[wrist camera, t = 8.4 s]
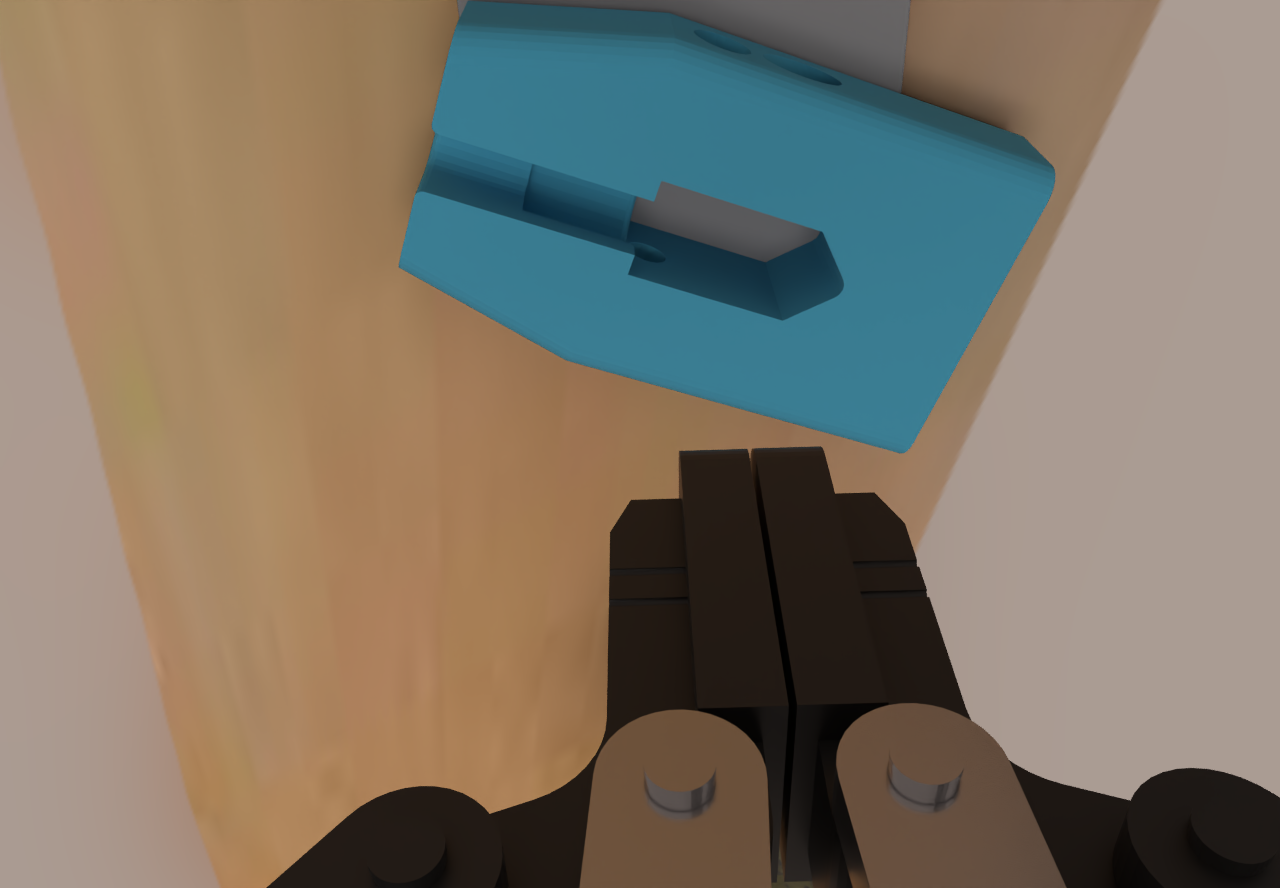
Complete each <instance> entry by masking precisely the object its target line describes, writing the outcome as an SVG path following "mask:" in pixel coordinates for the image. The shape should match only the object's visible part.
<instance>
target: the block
mask: <svg viewBox="0 0 1280 888" xmlns="http://www.w3.org/2000/svg"><path fill="white" fill-rule="evenodd" d="M432 129H433V131H434V132H435V136H434V140H433V144H432V147H431V151H430V155H429V158H428V162H427V165H426V168H425V171H424V174H423V176H422V179H421V182H420V184H419V187H418V189H417V192H416V194H415V197H414V202H413V206H412V210H411V214H410V219H409V223H408V227H407V231H406V235H405V240H404V244H403V248H402V252H401V257H400V262H399V268H401V269H403V270H405V271H406V272H408V273H410V274H412V275H414V276H415V277H417V278H419V279H421V280H423V281H424V282H426V283H428V284H430V285H432V286H433V287H435V288H437V289H439V290H441V291H442V292H444V293H446V294H448V295H450V296H451V297H453V298H455V299H457V300H459V301H460V302H462V303H464V304H466V305H468V306H469V307H471V308H473V309H475V310H477V311H478V312H480V313H482V314H484V315H486V316H487V317H489V318H491V319H493V320H495V321H496V322H498V323H500V324H502V325H504V326H505V327H507V328H509V329H511V330H513V331H514V332H516V333H518V334H520V335H522V336H523V337H525V338H527V339H529V340H531V341H532V342H534V343H536V344H538V345H540V346H541V347H543V348H545V349H547V350H549V351H550V352H552V353H554V354H556V355H558V356H559V357H561V358H563V359H565V360H567V361H570V362H574V363H578V364H581V365H585V366H588V367H592V368H596V369H599V370H603V371H606V372H610V373H613V374H617V375H621V376H624V377H628V378H631V379H635V380H639V381H642V382H646V383H649V384H653V385H657V386H660V387H664V388H667V389H671V390H675V391H678V392H682V393H685V394H689V395H693V396H696V397H700V398H703V399H707V400H711V401H714V402H718V403H721V404H725V405H728V406H732V407H736V408H739V409H743V410H746V411H750V412H754V413H757V414H761V415H764V416H768V417H772V418H775V419H779V420H782V421H786V422H790V423H793V424H797V425H800V426H804V427H808V428H811V429H815V430H818V431H822V432H826V433H829V434H833V435H836V436H840V437H844V438H847V439H851V440H854V441H858V442H861V443H865V444H869V445H872V446H876V447H879V448H883V449H887V450H890V451H894V452H897V453H905V452H906V451H907V450H908V449H909V448H910V447H911V446H912V444H913V443H914V441H915V439H916V437H917V435H918V434H919V432H920V430H921V428H922V427H923V425H924V423H925V421H926V419H927V418H928V416H929V414H930V412H931V410H932V409H933V407H934V405H935V403H936V401H937V400H938V398H939V396H940V394H941V393H942V391H943V389H944V387H945V385H946V384H947V382H948V380H949V378H950V376H951V375H952V373H953V371H954V369H955V367H956V366H957V364H958V362H959V360H960V358H961V357H962V355H963V353H964V351H965V350H966V348H967V346H968V344H969V342H970V341H971V339H972V337H973V335H974V333H975V332H976V330H977V328H978V326H979V324H980V323H981V321H982V319H983V317H984V316H985V314H986V312H987V310H988V308H989V307H990V305H991V303H992V301H993V299H994V298H995V296H996V294H997V292H998V290H999V289H1000V287H1001V285H1002V283H1003V282H1004V280H1005V278H1006V276H1007V274H1008V273H1009V271H1010V269H1011V267H1012V265H1013V264H1014V262H1015V260H1016V258H1017V256H1018V255H1019V253H1020V251H1021V249H1022V247H1023V246H1024V244H1025V242H1026V240H1027V239H1028V237H1029V235H1030V233H1031V231H1032V230H1033V228H1034V226H1035V224H1036V222H1037V221H1038V219H1039V217H1040V215H1041V213H1042V212H1043V210H1044V208H1045V206H1046V205H1047V203H1048V201H1049V199H1050V196H1051V194H1052V191H1053V188H1054V183H1055V170H1054V168H1053V166H1052V165H1051V164H1050V163H1049V162H1048V161H1047V160H1046V159H1045V158H1044V157H1043V156H1042V155H1041V154H1040V153H1039V152H1038V151H1037V150H1036V149H1035V148H1034V147H1033V146H1032V145H1031V144H1030V143H1029V142H1028V141H1027V140H1026V139H1025V138H1024V137H1023V136H1020V135H1018V134H1015V133H1012V132H1009V131H1006V130H1003V129H1000V128H997V127H995V126H992V125H989V124H986V123H983V122H980V121H977V120H975V119H972V118H969V117H966V116H963V115H960V114H957V113H955V112H952V111H949V110H946V109H943V108H940V107H937V106H935V105H932V104H929V103H926V102H923V101H920V100H917V99H914V98H912V97H909V96H906V95H903V94H900V93H897V92H894V91H892V90H889V89H886V88H883V87H880V86H877V85H874V84H872V83H869V82H866V81H863V80H860V79H857V78H854V77H852V76H849V75H846V74H843V73H840V72H837V71H834V70H832V69H829V68H826V67H823V66H820V65H817V64H814V63H811V62H809V61H806V60H803V59H800V58H797V57H794V56H791V55H789V54H786V53H783V52H780V51H777V50H774V49H771V48H769V47H766V46H763V45H760V44H757V43H754V42H751V41H749V40H746V39H743V38H740V37H737V36H734V35H731V34H728V33H726V32H723V31H720V30H717V29H714V28H711V27H708V26H706V25H703V24H700V23H697V22H694V21H691V20H688V19H686V18H683V17H680V16H677V15H674V14H671V13H665V12H648V11H631V10H615V9H598V8H582V7H565V6H549V5H532V4H516V3H499V2H483V1H467V3H466V6H465V8H464V10H463V12H462V14H461V16H460V18H459V21H458V23H457V25H456V29H455V32H454V35H453V39H452V43H451V46H450V50H449V54H448V58H447V62H446V66H445V71H444V75H443V79H442V83H441V88H440V92H439V96H438V100H437V104H436V109H435V113H434V117H433V121H432ZM661 181H664V182H667V183H670V184H673V185H676V186H679V187H683V188H686V189H689V190H692V191H695V192H698V193H702V194H705V195H708V196H711V197H714V198H717V199H720V200H724V201H727V202H730V203H733V204H736V205H739V206H743V207H746V208H749V209H752V210H755V211H758V212H761V213H765V214H768V215H771V216H774V217H777V218H780V219H783V220H787V221H790V222H793V223H796V224H799V225H802V226H806V227H809V228H812V229H815V230H818V231H820V233H819V235H818V236H817V238H816V239H814V240H813V241H811V242H809V243H806V244H804V245H802V246H800V247H798V248H795V249H793V250H791V251H789V252H787V253H784V254H782V255H780V256H778V257H776V258H774V259H771V260H769V261H767V262H763V261H759V260H756V259H753V258H750V257H746V256H743V255H740V254H737V253H733V252H730V251H727V250H724V249H720V248H717V247H714V246H711V245H707V244H704V243H701V242H698V241H694V240H691V239H688V238H685V237H681V236H678V235H675V234H672V233H668V232H665V231H662V230H659V229H655V228H652V227H649V226H646V225H642V224H639V223H636V222H633V221H630V219H631V215H632V211H633V208H634V204H635V201H636V198H637V197H641V198H644V199H647V200H650V201H653V202H654V200H655V198H656V195H657V192H658V189H659V186H660V184H661Z"/></svg>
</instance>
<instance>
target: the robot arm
mask: <svg viewBox="0 0 1280 888" xmlns="http://www.w3.org/2000/svg"><path fill="white" fill-rule="evenodd" d="M926 591H927V589H926V586H925V583H924V580H923V577H922V574H921V571H920V568H919V567H917V559H916V556H915V553H914V550H913V547H912V544H911V541H910V538H909V535H908V532H907V529H906V526H905V523H904V522H903V521H902V520H901V519H900V518H899V517H898V516H897V515H896V514H895V513H894V512H893V511H892V510H891V509H890V508H889V507H888V506H887V505H886V504H885V503H884V502H883V501H882V500H881V499H880V498H879V497H878V496H877V495H876V494H875V493H841V494H835V492H834V488H833V484H832V480H831V476H830V472H829V469H828V465H827V461H826V457H825V453H824V450H823V448H822V447H788V448H755V449H752V451H751V458H749V453H748V450H747V449H731V450H697V451H679V499H649V500H631V501H630V502H629V504H628V505H627V507H626V509H625V510H624V512H623V513H622V515H621V516H620V518H619V519H618V521H617V523H616V524H615V526H614V527H613V529H612V530H611V532H610V577H609V632H608V688H607V723H606V731H605V734H604V737H603V740H602V743H601V745H600V747H599V749H598V751H597V753H596V755H595V756H594V757H593V759H592V760H591V761H590V763H589V764H588V765H587V767H586V768H585V769H583V770H582V771H581V772H580V773H579V774H578V775H577V776H576V777H575V778H574V779H572V780H571V781H570V782H568V783H567V784H565V785H564V786H562V787H561V788H559V789H557V790H555V791H553V792H551V793H550V794H547V795H545V796H542V797H540V798H537V799H535V800H532V801H528V802H525V803H522V804H519V805H516V806H513V807H510V808H507V809H504V810H501V811H497V812H494V813H491V814H489V813H488V812H487V810H486V809H485V808H484V807H483V806H481V805H480V804H479V803H478V802H477V801H475V800H474V799H472V798H470V797H469V796H467V795H465V794H463V793H460V792H457V791H454V790H451V789H447V788H441V787H435V786H418V787H410V788H404V789H400V790H396V791H392V792H389V793H387V794H384V795H382V796H379V797H377V798H375V799H373V800H371V801H369V802H368V803H366V804H364V805H362V806H361V807H359V808H358V809H357V810H355V811H354V812H353V813H352V814H350V815H349V816H348V817H347V818H345V819H344V820H343V821H342V822H341V823H340V824H339V825H337V826H336V827H335V828H334V829H333V830H332V831H331V832H329V833H328V834H327V835H326V836H325V837H324V838H323V839H321V840H320V841H319V842H318V843H317V844H316V845H315V846H313V847H312V848H311V849H310V850H309V851H308V852H307V853H305V854H304V855H303V856H302V857H301V858H300V859H299V860H297V861H296V862H295V863H294V864H293V865H292V866H291V867H289V868H288V869H287V870H286V871H285V872H284V873H283V874H281V875H280V876H279V877H278V878H277V879H276V880H275V881H274V882H272V883H271V884H270V885H269V886H268V887H267V888H771V883H777V873H778V859H779V846H780V854H781V861H782V869H783V876H784V882H799V881H812V883H813V888H1280V798H1279V797H1278V796H1276V795H1275V794H1273V793H1271V792H1270V791H1268V790H1266V789H1264V788H1263V787H1261V786H1259V785H1257V784H1255V783H1252V782H1250V781H1248V780H1246V779H1243V778H1241V777H1238V776H1234V775H1231V774H1228V773H1225V772H1220V771H1215V770H1210V769H1199V768H1198V769H1197V768H1185V769H1175V770H1171V771H1167V772H1162V773H1160V774H1158V775H1156V776H1154V777H1151V778H1150V779H1149V780H1147V781H1146V782H1145V783H1143V784H1142V785H1141V786H1140V787H1139V788H1138V790H1137V791H1136V792H1135V793H1134V795H1133V797H1132V799H1131V801H1130V800H1126V799H1121V798H1117V797H1113V796H1109V795H1105V794H1101V793H1097V792H1092V791H1088V790H1084V789H1080V788H1076V787H1072V786H1067V785H1063V784H1060V783H1057V782H1053V781H1050V780H1047V779H1044V778H1042V777H1040V776H1037V775H1035V774H1032V773H1030V772H1028V771H1026V770H1024V769H1023V768H1021V767H1019V766H1017V765H1015V764H1014V763H1012V762H1011V761H1010V760H1008V758H1007V756H1006V754H1005V752H1004V751H1003V749H1002V748H1001V747H1000V745H999V744H998V743H997V742H996V741H995V739H994V738H993V737H992V736H990V734H988V733H987V732H986V731H985V730H984V729H983V728H981V727H980V726H978V725H977V724H976V723H974V722H972V721H971V719H970V717H969V714H968V712H967V710H966V707H965V704H964V701H963V699H962V695H961V692H960V689H959V686H958V683H957V680H956V677H955V674H954V671H953V668H952V665H951V662H950V659H949V656H948V653H947V650H946V647H945V644H944V641H943V638H942V634H941V632H940V628H939V625H938V622H937V619H936V616H935V613H934V610H933V607H932V604H931V601H930V598H929V597H927V593H926Z"/></svg>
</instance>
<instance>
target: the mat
mask: <svg viewBox="0 0 1280 888" xmlns="http://www.w3.org/2000/svg"><path fill="white" fill-rule="evenodd" d="M467 1H483V2H499V3H516V4H532V5H549V6H565V7H582V8H598V9H615V10H631V11H648V12H665V13H671V14H674V15H677V16H680V17H683V18H686V19H688V20H691V21H694V22H697V23H700V24H703V25H706V26H708V27H711V28H714V29H717V30H720V31H723V32H726V33H728V34H731V35H734V36H737V37H740V38H743V39H746V40H749V41H751V42H754V43H757V44H760V45H763V46H766V47H769V48H771V49H774V50H777V51H780V52H783V53H786V54H789V55H791V56H794V57H797V58H800V59H803V60H806V61H809V62H811V63H814V64H817V65H820V66H823V67H826V68H829V69H832V70H834V71H837V72H840V73H843V74H846V75H849V76H852V77H854V78H857V79H860V80H863V81H866V82H869V83H872V84H874V85H877V86H880V87H883V88H886V89H889V90H892V91H894V92H897V93H900V94H901V91H902V81H903V71H904V61H905V51H906V41H907V31H908V21H909V11H910V1H911V0H457V3H458V12H459V18H460V16H461V14H462V12H463V10H464V8H465V6H466V3H467ZM630 221H633V222H636V223H639V224H642V225H646V226H649V227H652V228H655V229H659V230H662V231H665V232H668V233H672V234H675V235H678V236H681V237H685V238H688V239H691V240H694V241H698V242H701V243H704V244H707V245H711V246H714V247H717V248H720V249H724V250H727V251H730V252H733V253H737V254H740V255H743V256H746V257H750V258H753V259H756V260H759V261H763V262H767V261H769V260H771V259H774V258H776V257H778V256H780V255H782V254H784V253H787V252H789V251H791V250H793V249H795V248H798V247H800V246H802V245H804V244H806V243H809V242H811V241H813V240H814V239H816V238H817V236H818V235H819V233H820V231H818V230H815V229H812V228H809V227H806V226H802V225H799V224H796V223H793V222H790V221H787V220H783V219H780V218H777V217H774V216H771V215H768V214H765V213H761V212H758V211H755V210H752V209H749V208H746V207H743V206H739V205H736V204H733V203H730V202H727V201H724V200H720V199H717V198H714V197H711V196H708V195H705V194H702V193H698V192H695V191H692V190H689V189H686V188H683V187H679V186H676V185H673V184H670V183H667V182H664V181H661V184H660V186H659V189H658V192H657V195H656V198H655V200H654V202H653V201H650V200H647V199H644V198H641V197H637V198H636V201H635V204H634V208H633V211H632V215H631V219H630Z"/></svg>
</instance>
